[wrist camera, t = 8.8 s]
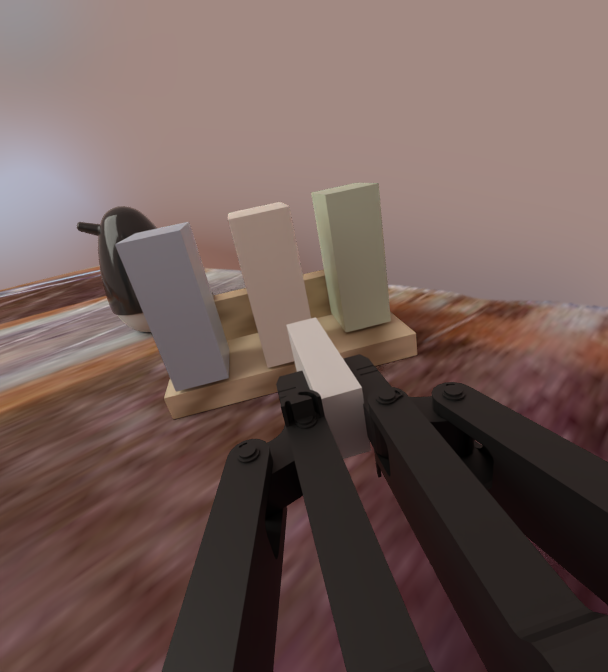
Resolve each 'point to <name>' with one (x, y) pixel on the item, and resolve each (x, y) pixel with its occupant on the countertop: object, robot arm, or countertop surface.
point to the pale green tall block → (353, 254)
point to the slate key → (177, 304)
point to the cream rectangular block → (271, 275)
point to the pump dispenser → (119, 261)
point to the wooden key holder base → (259, 380)
